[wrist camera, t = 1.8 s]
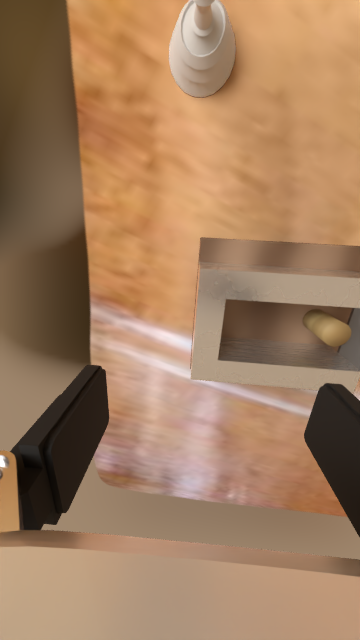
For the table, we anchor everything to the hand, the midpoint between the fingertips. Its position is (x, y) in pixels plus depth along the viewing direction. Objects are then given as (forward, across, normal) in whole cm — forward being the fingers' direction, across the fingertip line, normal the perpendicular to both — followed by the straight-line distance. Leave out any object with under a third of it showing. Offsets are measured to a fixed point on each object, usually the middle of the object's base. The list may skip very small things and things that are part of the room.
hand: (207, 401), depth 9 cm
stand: (+15, -7, 0) cm, 16 cm away
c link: (+12, -6, 0) cm, 13 cm away
